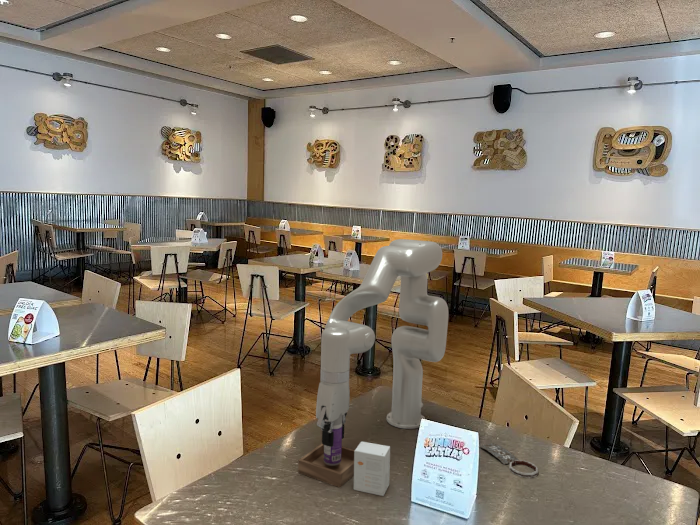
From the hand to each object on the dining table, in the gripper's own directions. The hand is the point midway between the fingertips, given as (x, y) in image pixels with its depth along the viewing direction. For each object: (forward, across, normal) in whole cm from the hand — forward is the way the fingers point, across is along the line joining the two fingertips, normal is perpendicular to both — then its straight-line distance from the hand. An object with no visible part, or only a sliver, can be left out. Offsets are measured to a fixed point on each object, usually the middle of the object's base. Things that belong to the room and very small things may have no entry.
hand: (333, 440), depth 138 cm
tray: (+8, 0, 0) cm, 8 cm away
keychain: (+9, -31, +39) cm, 51 cm away
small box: (+8, +2, +13) cm, 16 cm away
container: (+6, 0, 0) cm, 6 cm away
